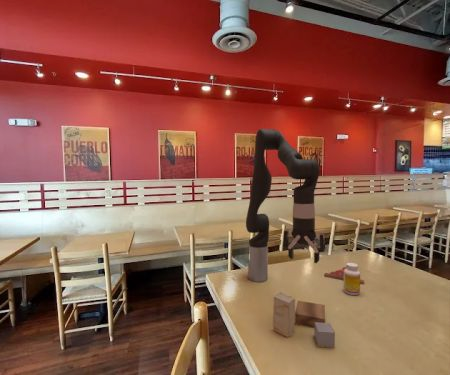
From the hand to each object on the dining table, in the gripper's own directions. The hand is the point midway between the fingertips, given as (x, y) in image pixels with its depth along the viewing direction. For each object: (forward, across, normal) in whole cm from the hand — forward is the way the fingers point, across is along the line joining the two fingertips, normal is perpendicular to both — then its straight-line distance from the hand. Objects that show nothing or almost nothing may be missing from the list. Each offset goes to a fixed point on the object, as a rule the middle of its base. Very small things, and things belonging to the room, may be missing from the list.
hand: (303, 260), depth 92 cm
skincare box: (+23, -4, -8) cm, 25 cm away
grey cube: (+23, +8, -7) cm, 26 cm away
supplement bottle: (+23, +13, +34) cm, 43 cm away
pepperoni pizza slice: (+24, +8, +56) cm, 61 cm away
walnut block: (+23, +2, +4) cm, 24 cm away
